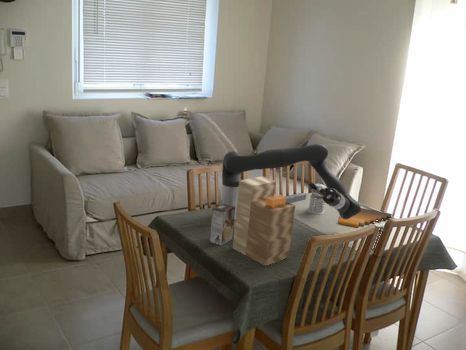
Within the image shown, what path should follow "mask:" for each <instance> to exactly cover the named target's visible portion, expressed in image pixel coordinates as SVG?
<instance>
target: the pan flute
mask: <svg viewBox="0 0 466 350" xmlns="http://www.w3.org/2000/svg"><path fill="white" fill-rule="evenodd" d="M392 215H393V213H388V212H383V211H378V210H373V209H368V208H363V207H361V211H360V212H359V213H358V214H356V215H354V216H353V217H351V218H349V219H343V218H342V217H341V216H340V215H339V216H340V217H339V219H338V224H341V225H344V226H350V227H355V228H359V227H360V226H362V227H364V226H365V225H369V224H371V223H370V222H375V223H376V222H377V221H376V220H378V221H381V222H382V221H384V220H386V221H387V219H386V218H391V219H392V217H393V216H392ZM381 219H383V220H381Z"/></svg>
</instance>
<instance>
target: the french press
mask: <svg viewBox="0 0 466 350" xmlns="http://www.w3.org/2000/svg"><path fill="white" fill-rule="evenodd" d="M319 180H320V181H319V182H321V180H322V178H321V177H320V179H319ZM314 184H315V185H317V186H321V187H323V188H328V187H327V185H324V184H321V183H314ZM321 189H322V188H320V189H319V190H321ZM309 199H310V200H309V205H308V208H307V209H306V211H307V212H308V213H310V214H314V215H324V214H325V213H326V211H325V210H324V208H325V202H324V201H323V197H322V196H321V195H319V194H317V193H315V192H314V191H312V192H311V194H310V198H309Z"/></svg>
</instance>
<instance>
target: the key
mask: <svg viewBox="0 0 466 350" xmlns="http://www.w3.org/2000/svg"><path fill="white" fill-rule="evenodd" d="M306 199H307V193H305V192H300V193H295V194H290V195H287V196H284V195H282V194H276V196H272V197H268V198H266V207H269V208H271V209H274V208H278V207H281V206H285V205H286V204H293V203H297V202H302V201H305V200H306Z"/></svg>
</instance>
